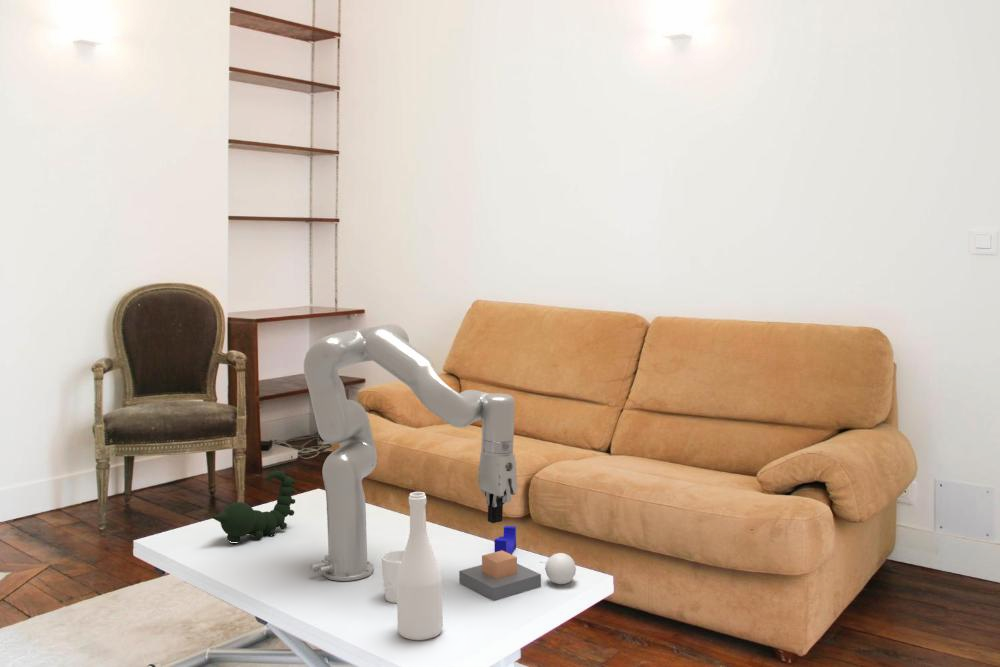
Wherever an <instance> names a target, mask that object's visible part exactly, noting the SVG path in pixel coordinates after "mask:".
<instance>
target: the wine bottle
mask: <svg viewBox="0 0 1000 667" xmlns="http://www.w3.org/2000/svg"><path fill="white" fill-rule="evenodd" d="M408 504H409V534H408V539H407V542H406V546H405V548H404V550H405V552H404V555H403V558H402V561H401V565H400V568H399V571H398V575H397V603H396V606H397V607H396V611H397V613H396V614H397V631H398V633H399V634H400V635H401V637H403V638H405V639H408V640H412V641H426V640H430V639H434V638H435V637H437V636H439V635H440V634H441V633H442V631H443V628H444V627H443V626H444V616H443V614H444V612H443V609H444V608H443V607H444V606H443V578H442V577H443V576H442V573H441V569H440V566H439V563H438V562H437V558H436V556H435V553H434V550H433V547H432V545H431V542H430V539H429V536H428V532H427V514H426V513H427V512H426V504H427V496H426V492H424V491H423V492H422V491H414V492H410V493H409V496H408Z"/></svg>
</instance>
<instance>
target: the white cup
mask: <svg viewBox="0 0 1000 667" xmlns="http://www.w3.org/2000/svg"><path fill="white" fill-rule="evenodd" d="M404 552H405V549H404V550H402V549H401V550H392V551H391V550H390V551H388V552H385V553H384V554H382V555H381V568H382V579H383V580H382V581H383V588H384V598H385V600H386V602H389V603H393V604H394V603H395V604H397V575H398V571H399V568H400V565H401V561H402V558H403V555H404Z"/></svg>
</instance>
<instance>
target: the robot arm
mask: <svg viewBox="0 0 1000 667" xmlns="http://www.w3.org/2000/svg"><path fill="white" fill-rule="evenodd" d="M365 362H374V363H376V364H377V365H378V366H380V367H381V368H382V369H384V370H385V371H387V372H388V373H390V374H391V375H392V376H394V377H395V378H397V379H398V380H399V381H400V382H402V383H403V384H404V385H406V386H407V387H408V388H409V389H410V390H411V392H412V394H414V396H415V397H416V399H418V401H419V402H420V403H421V404H422V405H423V406H424V407H425V408H426V409H427V410H428V411H430V412H431V413H432V414H433V415H435V416H436V417H438V418H439V419H440V420H442V421H443V422H444V423H446V424H449V425H450V426H452V427H454V428H466V427H468V426H470V425H471V424H473V423H474V422H478V421H482V422H481V450H480V455H479V460H478V461H479V463H478V471H477V472H478V475H477V481H478V482H477V484H478V487H479V488H480V492H481V493H482V494H483V495H484V496H485V497H486V498H485V499H486V504H487V522H489V523H491V524H496V523H501V522H502V521H503V516H504V515H503V510H504V509H503V508H504V506H505V504H508V503H511V502H512V495H513V496H515V495H516V494H517V490H518V485H517V484H518V482H517V480H518V479H517V478H518V476H517V475H518V474H517V463H516V462H517V461H516V457H515V456H516V455H515V454H514V433H515V430H514V428H515V408H516V407H515V406H516V405H515V402H516V401H515V398H514V396H512V395H510V394H507V393H501V392H500V393H496V392H495V393H491V392H490V393H489V392H485V391H480V390H478V389H477V390H476V389H466V390H463V391H461V392H457V391H456V390H455V389H453V388H452V387H450V386H449V385H448V384H446V383H445V382H444V381H443V380H442V379H441V378H440V377H439V376H438V374H437V372H436V371H435V366H434V363H433V360H432V358H430V357H429V356H428V355H427V354H425V353H423V352H422V351H421V350H419V349H418V348H416V346H413V345H412V344H411V343H410V339H409V336H408V334H407V331H405V330H404V328H402V327H401V326H399V325H397V324H391V323H390V324H384V325H379V326H372V327H366V328H358V329H350V330H345V331H342V332H341V331H340V332H335V333H332V334H328V335H326V336H324V337H322V338H320V339H318V340H317V341H316V342H314V343H313V344H312V345H311V346H310V347H309V349H308V351H306V354H305V357H304V360H303V373H304V377H305V378H304V379H305V381H306V385H307V388H308V393H309V396H310V397H309V398H310V401H311V407H312V412H313V414H314V417H315V418H314V419H315V423H316V428H317V432H318V435H319V436H320V439H321V440H323V442H325V443H326V444H329V445H337V444H338V445H339V448H337V449H336V450H334V451H333V452H331V453H330V454H329V455H328V456H327V457H326V459H325V460H324V463H323V466H322V470H321V471H322V472H321V473H322V479H323V485H324V489H325V490H324V491H325V500H326V517H327V518H326V520H327V525H326V526H327V544H328V545H327V547H328V548H327V549H328V553H327V554H328V555H324V559H323V560H321V561H320V562H314V563H311V564H310V565H309V568H310V572H312V573H315V572H318V571H319V572H320V573H322V575H323V576H324V577H325V578H326V579H328V580H331V581H338V582H350V581H357V580H362V579H364V578H367V577H369V576H370V575H372V574H373V573H374V570H375V569H374V568H375V566H374V564H373V563H371V562H370V561H368V541H367V540H368V539H367V511H366V509H367V508H366V496H365V492H364V488H363V483H362V482H363V479H364V478H366V477H367V476H369V475H370V474H371V473H372V472H373V471H374V469H375V468H376V466H377V461H378V454H377V449H376V444H375V440H374V435H373V431H372V427H371V423H370V418H369V415H368V413H367V411H366V410H365V408H364V407H363V405H362V404H361V403H359V402H357V401H356V400H352V399H347V395H346V391H345V390H346V389H345V386H344V383H343V381H342V379H341V378H340V375H339V372H338V371H339V370H340V369H342V368H345V367H349V366H351V365H354V364H359V363H365Z"/></svg>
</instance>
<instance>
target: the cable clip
mask: <svg viewBox="0 0 1000 667" xmlns="http://www.w3.org/2000/svg"><path fill="white" fill-rule="evenodd" d="M502 535H503V536H501V535H500V536H499V537H498V538H495V539H494V542H493V543H494V552H498V551H505V552H507V553H509V554H511V555H513V554H514V551H515V550H516V549H517V527H516V525H515V526H514V525H512V526H511V525H510V526H509V525H504V527H503V534H502Z"/></svg>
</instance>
